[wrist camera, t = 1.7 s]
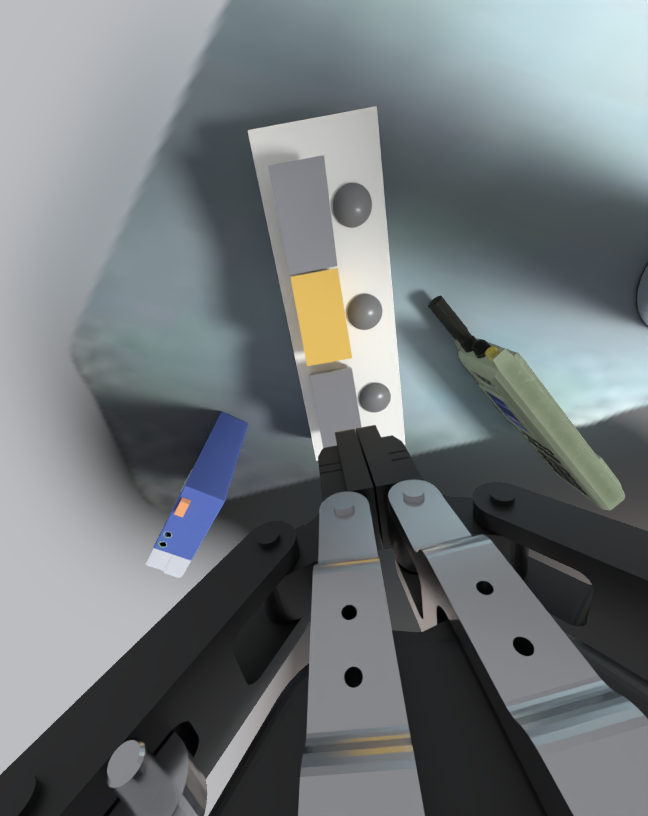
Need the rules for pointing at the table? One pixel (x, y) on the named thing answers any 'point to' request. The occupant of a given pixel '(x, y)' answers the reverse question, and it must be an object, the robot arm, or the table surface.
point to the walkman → (199, 498)
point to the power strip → (343, 256)
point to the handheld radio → (532, 411)
